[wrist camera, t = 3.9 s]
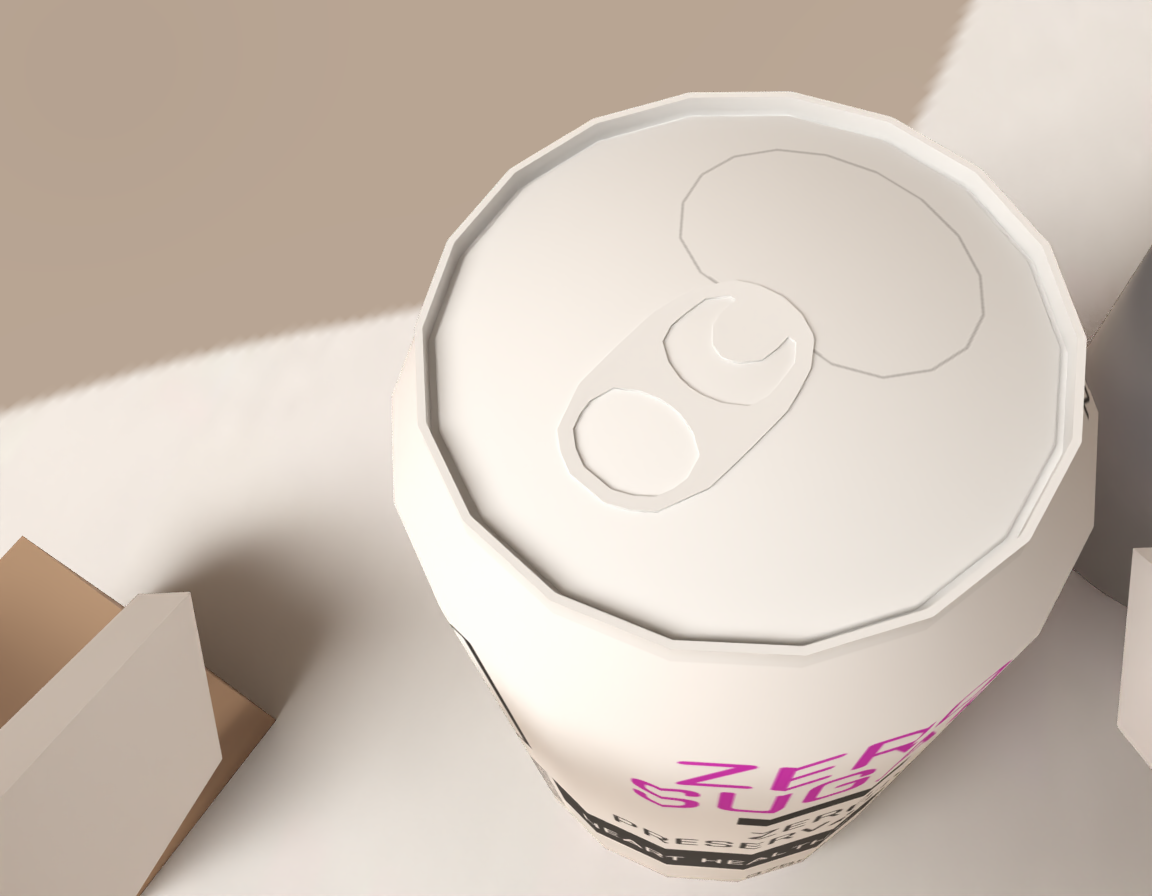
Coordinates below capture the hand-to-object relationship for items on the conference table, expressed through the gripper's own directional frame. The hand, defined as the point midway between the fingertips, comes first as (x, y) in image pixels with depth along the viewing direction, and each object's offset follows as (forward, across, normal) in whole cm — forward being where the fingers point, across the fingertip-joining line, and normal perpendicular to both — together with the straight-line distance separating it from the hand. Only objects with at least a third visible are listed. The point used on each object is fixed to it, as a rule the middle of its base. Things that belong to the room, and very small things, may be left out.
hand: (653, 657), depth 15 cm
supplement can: (+8, +1, -6) cm, 10 cm away
